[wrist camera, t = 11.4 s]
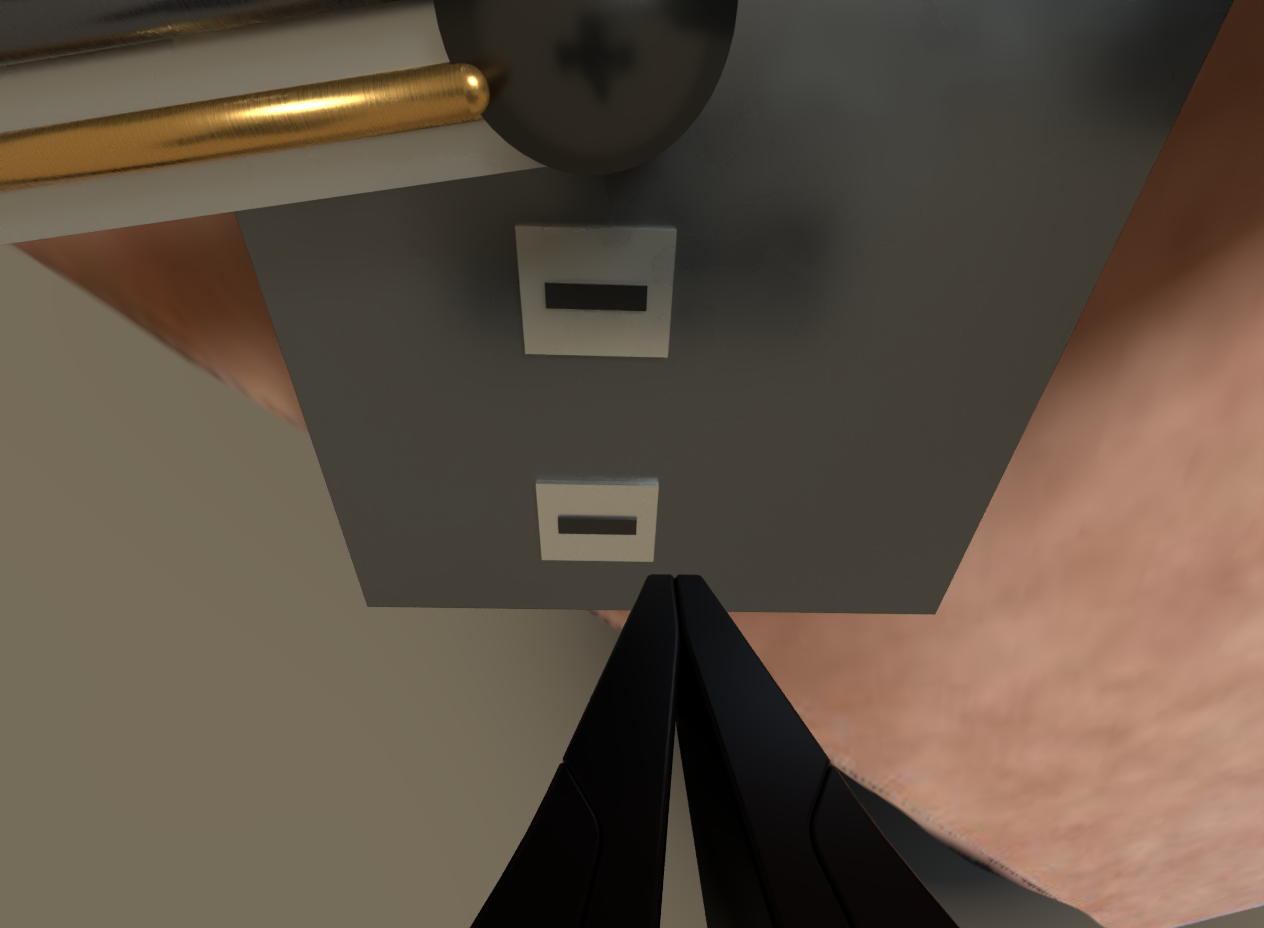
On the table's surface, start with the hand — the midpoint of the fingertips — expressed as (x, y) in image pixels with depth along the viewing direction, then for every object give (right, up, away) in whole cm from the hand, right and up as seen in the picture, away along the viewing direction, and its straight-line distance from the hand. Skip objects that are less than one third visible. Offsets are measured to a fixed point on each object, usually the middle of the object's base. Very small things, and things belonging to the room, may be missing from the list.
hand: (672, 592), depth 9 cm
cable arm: (-8, +9, +2) cm, 13 cm away
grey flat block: (0, +7, +9) cm, 11 cm away
